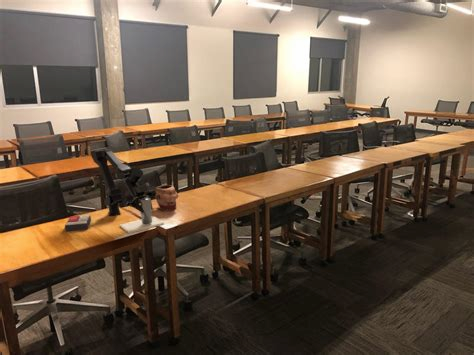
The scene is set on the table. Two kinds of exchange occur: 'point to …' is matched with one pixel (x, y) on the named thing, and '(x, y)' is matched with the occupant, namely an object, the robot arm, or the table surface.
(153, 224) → the tile
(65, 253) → the table surface
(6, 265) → the table surface
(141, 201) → the tin
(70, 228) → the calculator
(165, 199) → the decorative planter
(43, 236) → the table surface
